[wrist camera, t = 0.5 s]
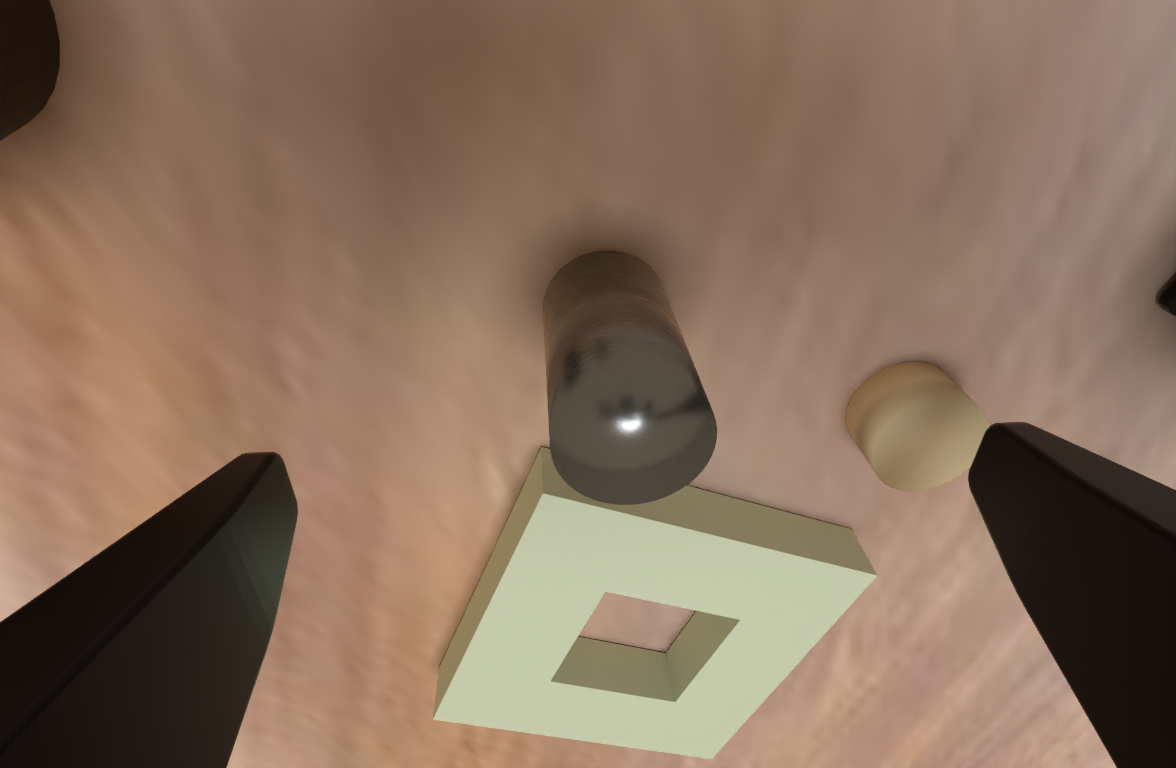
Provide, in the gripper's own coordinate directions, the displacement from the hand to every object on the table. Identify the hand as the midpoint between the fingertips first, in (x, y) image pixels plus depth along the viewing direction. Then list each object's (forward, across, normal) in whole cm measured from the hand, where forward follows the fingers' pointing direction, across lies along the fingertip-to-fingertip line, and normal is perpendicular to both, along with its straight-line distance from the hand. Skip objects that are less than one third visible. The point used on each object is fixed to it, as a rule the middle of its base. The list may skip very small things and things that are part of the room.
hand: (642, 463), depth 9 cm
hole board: (+13, -2, +19) cm, 23 cm away
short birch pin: (+13, -12, +9) cm, 20 cm away
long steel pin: (+13, -1, +4) cm, 14 cm away
